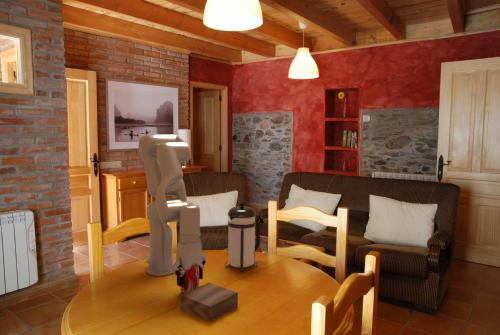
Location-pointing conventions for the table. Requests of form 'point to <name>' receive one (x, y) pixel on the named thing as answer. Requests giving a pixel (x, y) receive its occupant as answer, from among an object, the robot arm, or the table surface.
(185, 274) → the soda can
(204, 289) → the walnut base
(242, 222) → the coffee press
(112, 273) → the table surface
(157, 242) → the robot arm
